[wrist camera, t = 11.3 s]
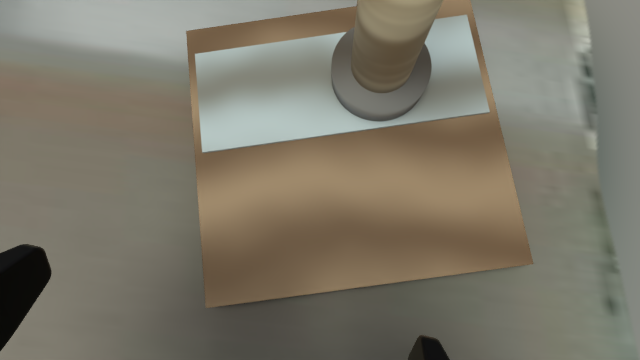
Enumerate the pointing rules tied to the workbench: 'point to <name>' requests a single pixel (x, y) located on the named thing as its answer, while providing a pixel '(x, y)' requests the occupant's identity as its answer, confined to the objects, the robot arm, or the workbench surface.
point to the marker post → (384, 58)
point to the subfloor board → (343, 164)
